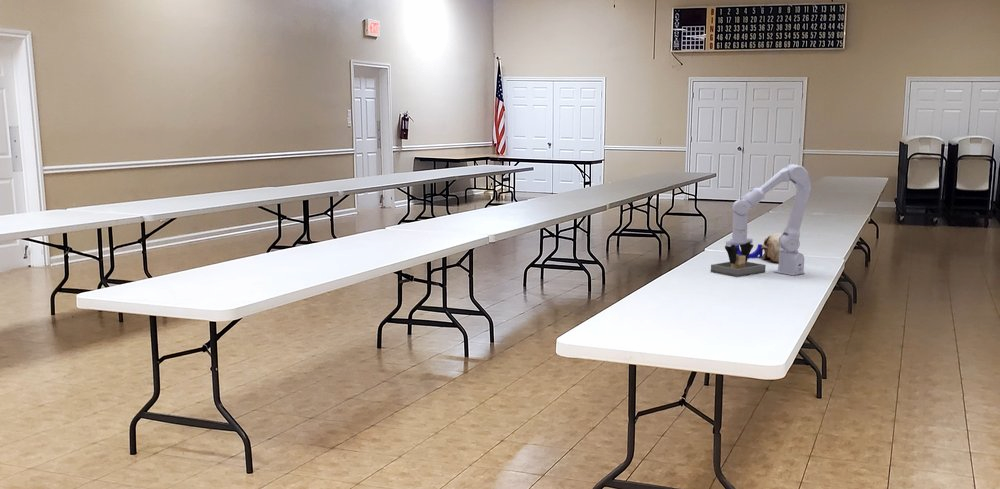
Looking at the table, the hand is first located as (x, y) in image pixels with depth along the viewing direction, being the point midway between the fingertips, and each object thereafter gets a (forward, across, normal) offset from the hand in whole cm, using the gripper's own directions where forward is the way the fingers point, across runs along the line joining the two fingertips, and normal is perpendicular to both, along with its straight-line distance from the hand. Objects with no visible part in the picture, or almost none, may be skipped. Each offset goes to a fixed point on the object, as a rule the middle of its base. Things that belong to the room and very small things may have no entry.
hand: (738, 262), depth 345 cm
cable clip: (+4, -31, -19) cm, 37 cm away
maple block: (+3, 0, 0) cm, 3 cm away
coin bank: (+4, -36, -7) cm, 37 cm away
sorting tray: (+4, 0, 0) cm, 4 cm away
